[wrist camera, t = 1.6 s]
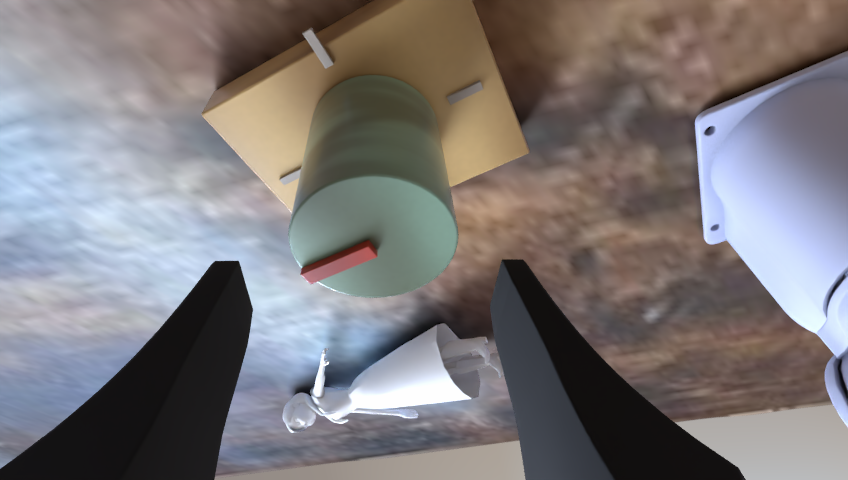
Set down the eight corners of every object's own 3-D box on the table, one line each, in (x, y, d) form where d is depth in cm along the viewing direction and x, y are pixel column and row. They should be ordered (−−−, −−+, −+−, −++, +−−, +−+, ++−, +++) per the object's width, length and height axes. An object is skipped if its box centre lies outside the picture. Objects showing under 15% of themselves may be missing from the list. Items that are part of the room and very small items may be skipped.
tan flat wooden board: (444, -67, 16) (451, -53, 15) (525, 141, 22) (536, 166, 21) (200, 77, 19) (184, 101, 17) (330, 227, 25) (327, 255, 23)
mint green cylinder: (401, 49, 17) (412, 150, 12) (457, 156, 20) (484, 271, 15) (283, 111, 18) (248, 227, 13) (355, 203, 21) (348, 322, 16)
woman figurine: (534, 417, 32) (331, 468, 38) (523, 359, 35) (337, 416, 42) (453, 339, 25) (220, 418, 31) (449, 275, 28) (238, 359, 34)
